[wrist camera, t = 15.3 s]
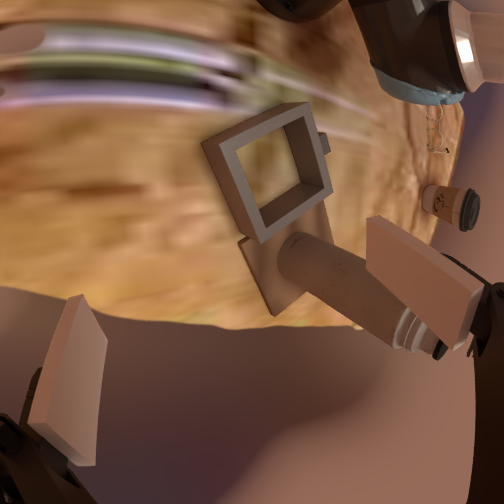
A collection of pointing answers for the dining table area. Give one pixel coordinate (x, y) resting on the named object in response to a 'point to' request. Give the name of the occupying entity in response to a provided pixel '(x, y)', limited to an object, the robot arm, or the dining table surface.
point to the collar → (307, 161)
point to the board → (266, 258)
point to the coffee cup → (452, 205)
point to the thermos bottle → (355, 293)
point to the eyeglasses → (439, 132)
